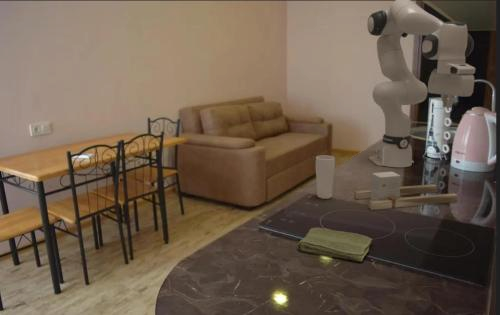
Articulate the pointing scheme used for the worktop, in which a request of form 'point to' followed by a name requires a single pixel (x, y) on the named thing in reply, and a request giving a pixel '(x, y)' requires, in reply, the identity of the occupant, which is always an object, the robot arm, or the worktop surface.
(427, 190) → the wooden track
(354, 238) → the washcloth
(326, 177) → the drinking glass
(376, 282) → the worktop surface
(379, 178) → the small box
